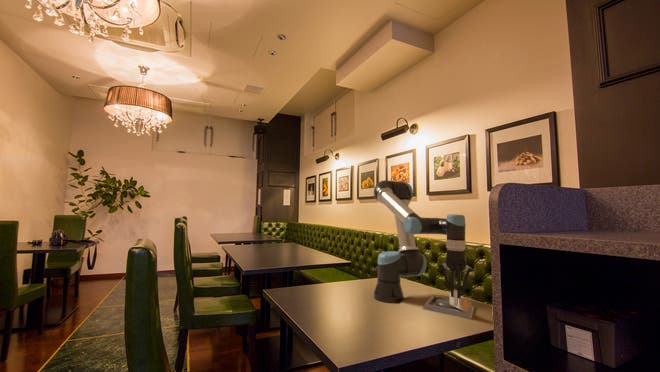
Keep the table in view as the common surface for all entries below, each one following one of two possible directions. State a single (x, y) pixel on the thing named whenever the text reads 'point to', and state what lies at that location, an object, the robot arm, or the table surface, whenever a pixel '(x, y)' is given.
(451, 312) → the grey rectangular tray
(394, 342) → the table surface
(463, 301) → the grey dome with handle
